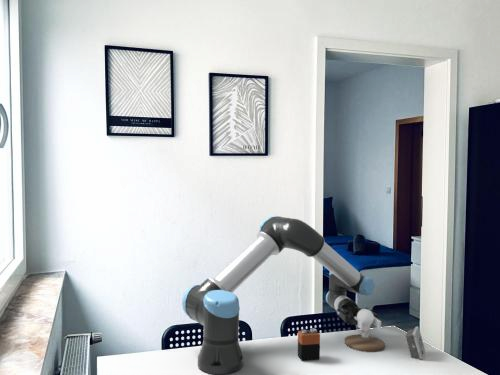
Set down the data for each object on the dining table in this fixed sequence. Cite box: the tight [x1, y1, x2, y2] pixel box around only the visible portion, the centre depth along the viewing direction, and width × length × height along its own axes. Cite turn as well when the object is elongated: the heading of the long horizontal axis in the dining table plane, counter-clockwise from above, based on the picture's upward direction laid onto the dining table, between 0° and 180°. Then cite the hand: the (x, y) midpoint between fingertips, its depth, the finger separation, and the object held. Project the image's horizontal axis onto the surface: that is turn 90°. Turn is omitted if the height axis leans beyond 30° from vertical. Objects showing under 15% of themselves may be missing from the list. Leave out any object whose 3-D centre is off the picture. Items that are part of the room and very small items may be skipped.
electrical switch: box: [405, 326, 426, 361], centre depth 153 cm, size 9×5×9 cm, turn 152°
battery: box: [297, 327, 321, 362], centre depth 148 cm, size 4×7×10 cm, turn 102°
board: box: [344, 333, 386, 353], centre depth 162 cm, size 15×15×1 cm
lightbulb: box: [357, 308, 374, 338], centre depth 162 cm, size 6×6×11 cm
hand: (371, 325), depth 157 cm, fingers closed on lightbulb, 6 cm apart
